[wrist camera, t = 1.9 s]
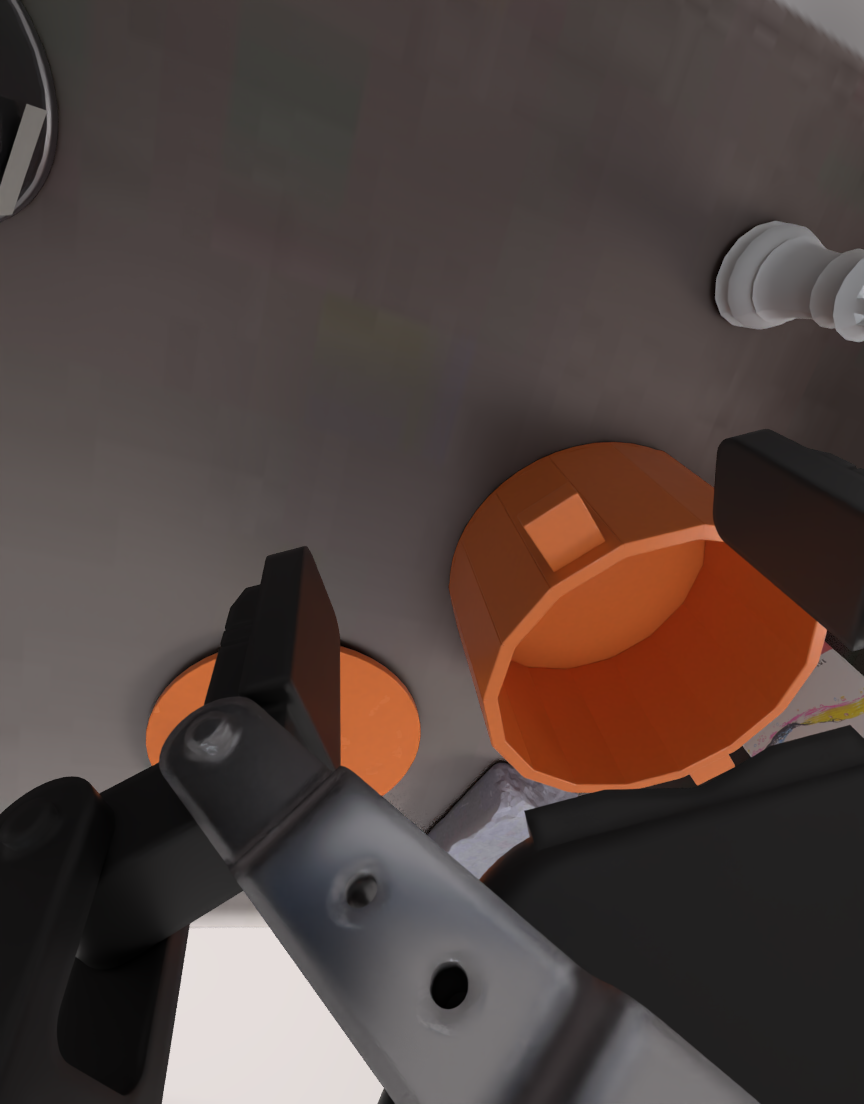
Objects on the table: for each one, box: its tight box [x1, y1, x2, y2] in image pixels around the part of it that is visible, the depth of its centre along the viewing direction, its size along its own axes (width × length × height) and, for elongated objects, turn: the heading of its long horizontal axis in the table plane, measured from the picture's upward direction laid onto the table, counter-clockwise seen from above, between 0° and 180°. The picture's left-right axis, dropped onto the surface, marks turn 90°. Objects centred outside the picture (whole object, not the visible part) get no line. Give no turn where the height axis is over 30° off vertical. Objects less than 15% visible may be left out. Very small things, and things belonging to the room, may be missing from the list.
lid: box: [146, 646, 420, 796], centre depth 35 cm, size 17×17×6 cm
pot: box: [449, 442, 827, 793], centre depth 30 cm, size 16×22×10 cm
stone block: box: [428, 763, 578, 879], centre depth 45 cm, size 12×5×10 cm
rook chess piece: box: [715, 221, 864, 342], centre depth 23 cm, size 4×4×8 cm
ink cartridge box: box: [743, 641, 864, 757], centre depth 35 cm, size 9×5×15 cm, turn 129°
